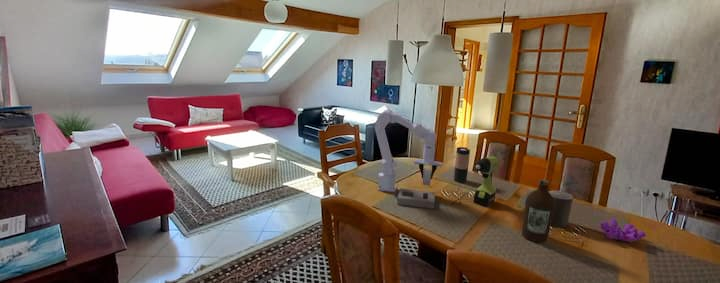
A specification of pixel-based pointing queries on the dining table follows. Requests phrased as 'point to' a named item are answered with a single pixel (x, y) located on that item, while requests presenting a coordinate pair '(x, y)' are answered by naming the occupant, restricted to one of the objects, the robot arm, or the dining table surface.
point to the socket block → (416, 198)
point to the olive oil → (538, 214)
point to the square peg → (426, 176)
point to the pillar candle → (561, 208)
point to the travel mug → (461, 164)
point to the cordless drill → (486, 181)
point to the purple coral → (621, 231)
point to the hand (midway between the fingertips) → (426, 178)
